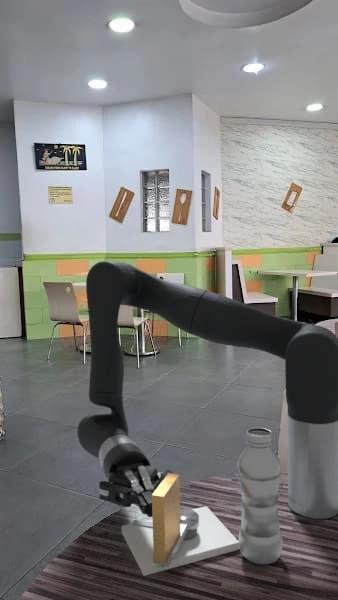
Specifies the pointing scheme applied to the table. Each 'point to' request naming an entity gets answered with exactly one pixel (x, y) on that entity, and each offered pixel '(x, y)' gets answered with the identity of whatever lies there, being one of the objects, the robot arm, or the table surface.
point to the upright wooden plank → (169, 520)
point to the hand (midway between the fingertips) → (153, 510)
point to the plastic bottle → (259, 499)
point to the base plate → (194, 546)
